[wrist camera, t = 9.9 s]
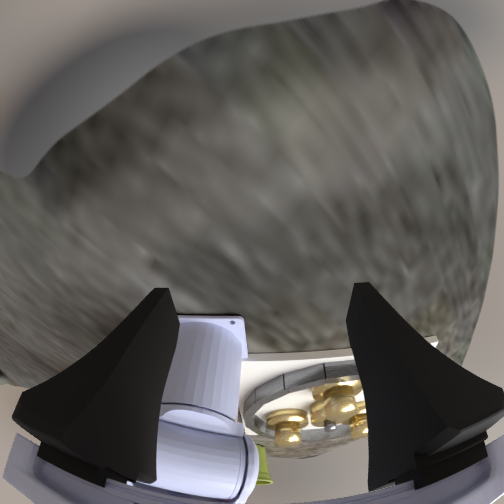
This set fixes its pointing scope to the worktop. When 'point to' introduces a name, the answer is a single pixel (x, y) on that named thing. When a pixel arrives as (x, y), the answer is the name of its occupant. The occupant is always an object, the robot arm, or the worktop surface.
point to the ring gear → (294, 383)
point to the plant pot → (263, 468)
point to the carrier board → (274, 364)
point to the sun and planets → (312, 423)
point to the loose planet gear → (338, 399)
